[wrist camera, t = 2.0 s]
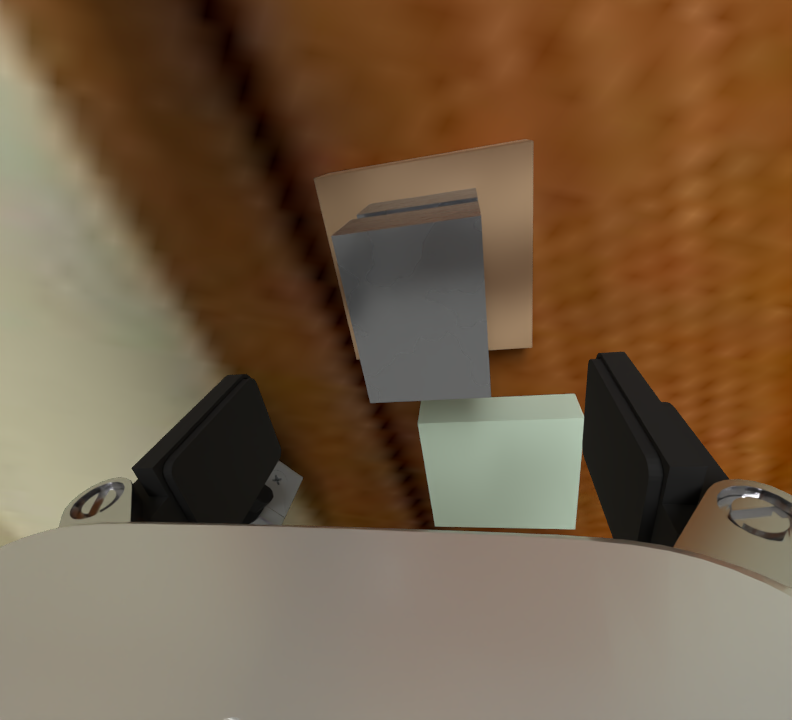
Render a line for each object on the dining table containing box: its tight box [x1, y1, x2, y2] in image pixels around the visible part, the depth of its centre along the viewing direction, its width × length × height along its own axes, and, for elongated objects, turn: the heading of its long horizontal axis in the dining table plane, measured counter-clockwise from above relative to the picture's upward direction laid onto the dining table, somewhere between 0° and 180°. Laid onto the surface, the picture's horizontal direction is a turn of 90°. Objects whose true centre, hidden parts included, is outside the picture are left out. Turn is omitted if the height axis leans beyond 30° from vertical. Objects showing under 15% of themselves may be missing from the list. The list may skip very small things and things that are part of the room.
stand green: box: [418, 394, 584, 529], centre depth 28 cm, size 10×10×2 cm
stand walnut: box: [314, 139, 533, 359], centre depth 21 cm, size 10×10×2 cm
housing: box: [331, 188, 491, 403], centre depth 17 cm, size 7×5×7 cm
